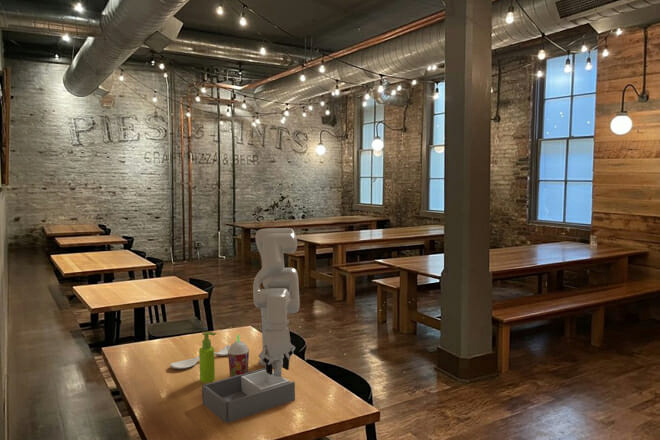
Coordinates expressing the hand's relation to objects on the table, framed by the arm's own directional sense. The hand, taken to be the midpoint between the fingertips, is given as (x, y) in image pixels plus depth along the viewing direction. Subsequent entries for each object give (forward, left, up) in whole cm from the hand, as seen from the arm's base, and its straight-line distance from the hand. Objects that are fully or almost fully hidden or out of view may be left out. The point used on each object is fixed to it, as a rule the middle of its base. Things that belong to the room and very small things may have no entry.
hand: (277, 370), depth 193 cm
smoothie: (+8, -17, -9) cm, 21 cm away
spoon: (+8, -49, -9) cm, 51 cm away
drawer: (+5, 0, -7) cm, 9 cm away
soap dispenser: (+16, -28, -9) cm, 33 cm away
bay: (+13, 0, -9) cm, 15 cm away
